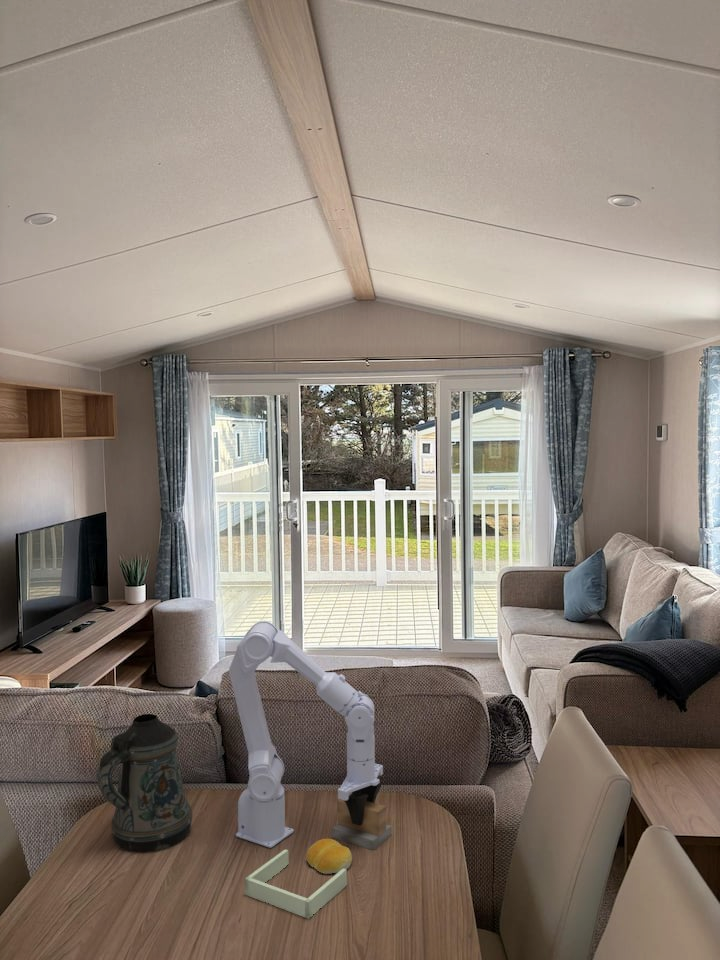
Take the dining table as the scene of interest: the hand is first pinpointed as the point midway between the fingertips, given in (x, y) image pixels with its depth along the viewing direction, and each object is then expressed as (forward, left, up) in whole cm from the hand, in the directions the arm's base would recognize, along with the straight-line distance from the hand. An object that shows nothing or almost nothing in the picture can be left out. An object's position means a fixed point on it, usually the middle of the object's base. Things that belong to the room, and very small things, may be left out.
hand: (361, 820), depth 167 cm
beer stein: (-38, -23, -4) cm, 44 cm away
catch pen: (0, -23, -3) cm, 23 cm away
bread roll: (0, -12, -4) cm, 12 cm away
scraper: (0, 0, -3) cm, 3 cm away
